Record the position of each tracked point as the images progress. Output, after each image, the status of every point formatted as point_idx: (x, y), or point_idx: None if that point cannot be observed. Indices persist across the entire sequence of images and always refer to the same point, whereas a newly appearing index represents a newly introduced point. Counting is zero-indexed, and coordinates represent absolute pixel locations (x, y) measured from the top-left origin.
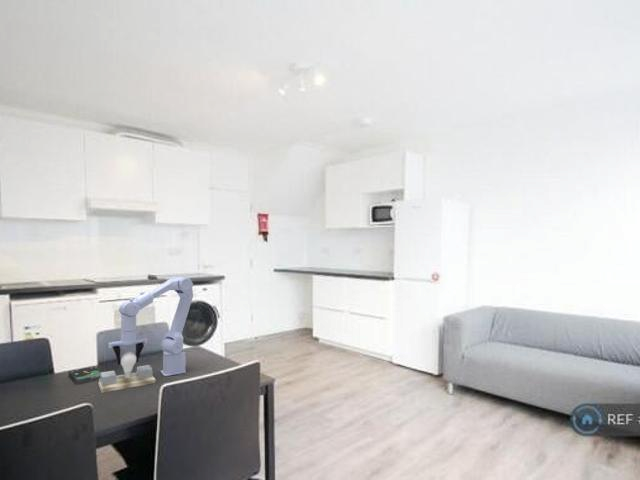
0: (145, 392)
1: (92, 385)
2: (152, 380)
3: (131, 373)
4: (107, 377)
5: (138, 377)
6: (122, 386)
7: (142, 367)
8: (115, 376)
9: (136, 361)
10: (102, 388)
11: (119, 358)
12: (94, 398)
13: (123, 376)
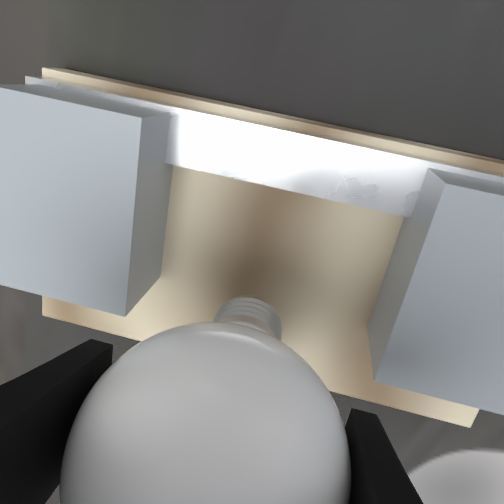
0: None
1: (15, 51)
2: (442, 416)
3: (363, 157)
4: (49, 293)
5: (386, 268)
6: None
7: (480, 274)
8: (124, 309)
9: None
10: (49, 305)
11: (33, 501)
12: (12, 358)
13: (258, 182)
